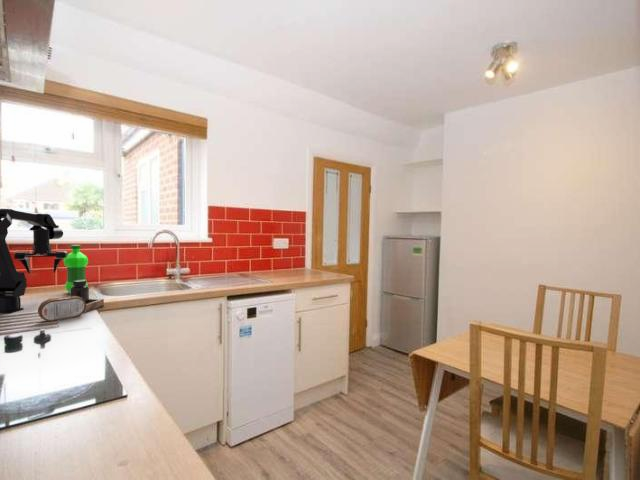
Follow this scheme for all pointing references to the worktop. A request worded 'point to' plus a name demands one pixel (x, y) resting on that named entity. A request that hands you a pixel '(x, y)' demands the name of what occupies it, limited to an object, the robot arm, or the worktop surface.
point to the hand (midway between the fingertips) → (42, 273)
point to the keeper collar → (94, 304)
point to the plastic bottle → (75, 266)
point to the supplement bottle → (80, 290)
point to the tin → (61, 308)
